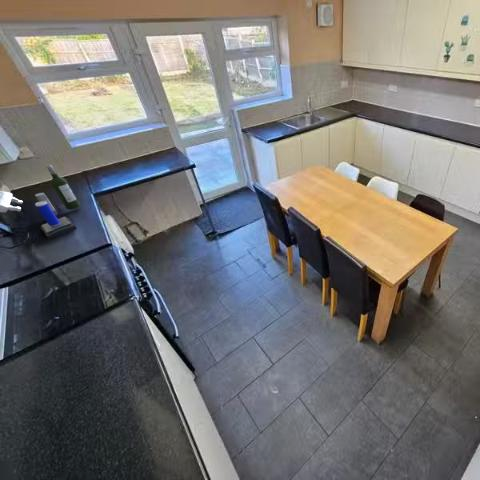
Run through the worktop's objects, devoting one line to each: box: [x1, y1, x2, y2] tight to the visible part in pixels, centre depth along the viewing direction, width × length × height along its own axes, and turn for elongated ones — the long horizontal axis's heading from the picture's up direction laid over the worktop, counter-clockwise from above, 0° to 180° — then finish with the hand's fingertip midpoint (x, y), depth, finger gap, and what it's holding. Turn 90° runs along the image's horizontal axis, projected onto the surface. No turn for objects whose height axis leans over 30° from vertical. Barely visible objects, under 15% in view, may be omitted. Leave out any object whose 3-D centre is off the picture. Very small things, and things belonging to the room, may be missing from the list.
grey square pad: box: [41, 216, 71, 233], centre depth 168 cm, size 12×12×1 cm
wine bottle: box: [45, 164, 81, 210], centre depth 181 cm, size 8×8×30 cm
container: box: [34, 192, 58, 216], centre depth 178 cm, size 5×5×15 cm
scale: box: [40, 216, 78, 239], centre depth 169 cm, size 14×16×3 cm
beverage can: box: [34, 201, 60, 226], centre depth 163 cm, size 5×5×15 cm
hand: (21, 206), depth 154 cm, fingers open, 8 cm apart
